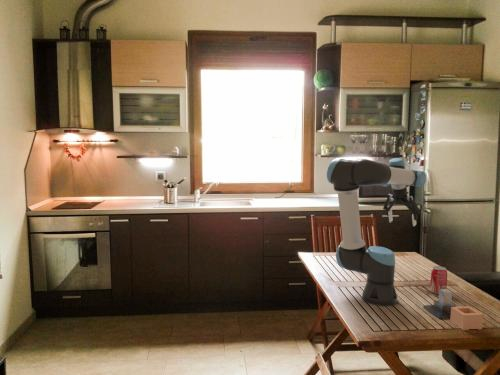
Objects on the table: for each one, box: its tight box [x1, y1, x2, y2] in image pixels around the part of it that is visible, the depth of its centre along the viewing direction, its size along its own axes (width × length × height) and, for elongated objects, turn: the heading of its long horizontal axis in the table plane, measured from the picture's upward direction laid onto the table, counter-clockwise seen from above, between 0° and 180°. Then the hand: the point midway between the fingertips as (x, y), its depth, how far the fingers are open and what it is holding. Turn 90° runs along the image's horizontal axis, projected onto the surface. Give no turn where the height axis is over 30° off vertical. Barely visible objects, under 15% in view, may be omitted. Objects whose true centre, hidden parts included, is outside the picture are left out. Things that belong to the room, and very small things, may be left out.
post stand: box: [423, 288, 457, 320], centre depth 183 cm, size 12×12×10 cm
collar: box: [449, 305, 484, 331], centre depth 171 cm, size 8×8×6 cm
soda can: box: [429, 265, 448, 295], centre depth 207 cm, size 7×7×12 cm
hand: (402, 223), depth 238 cm, fingers open, 13 cm apart
